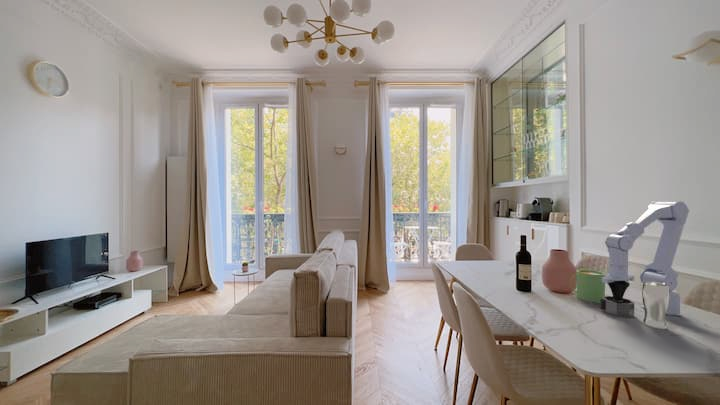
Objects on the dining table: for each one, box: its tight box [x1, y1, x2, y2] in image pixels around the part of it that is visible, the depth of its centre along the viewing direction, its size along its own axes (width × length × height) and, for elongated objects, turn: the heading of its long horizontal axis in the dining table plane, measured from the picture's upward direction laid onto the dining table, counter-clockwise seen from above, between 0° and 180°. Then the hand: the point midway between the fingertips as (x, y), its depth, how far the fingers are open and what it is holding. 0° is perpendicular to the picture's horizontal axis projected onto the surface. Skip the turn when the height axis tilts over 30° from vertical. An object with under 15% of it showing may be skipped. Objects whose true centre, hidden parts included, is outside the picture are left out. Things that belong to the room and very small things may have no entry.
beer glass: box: [641, 281, 669, 330], centre depth 108 cm, size 7×7×15 cm
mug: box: [569, 268, 606, 304], centre depth 138 cm, size 13×10×12 cm
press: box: [599, 295, 635, 319], centre depth 120 cm, size 10×9×5 cm
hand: (617, 299), depth 120 cm, fingers closed, pressing on plunger
